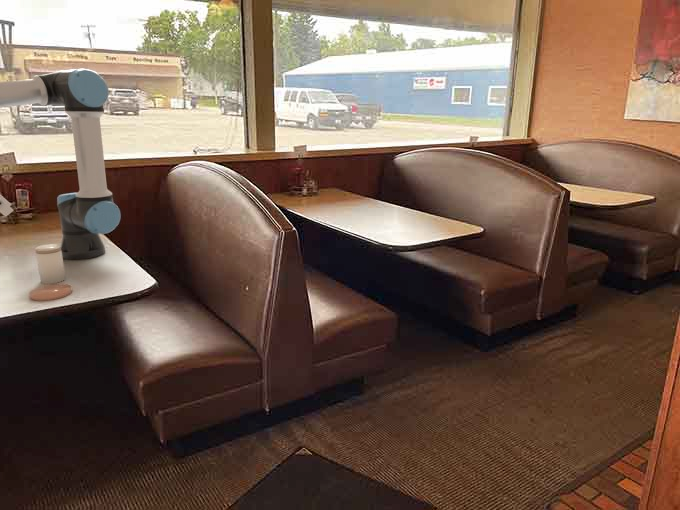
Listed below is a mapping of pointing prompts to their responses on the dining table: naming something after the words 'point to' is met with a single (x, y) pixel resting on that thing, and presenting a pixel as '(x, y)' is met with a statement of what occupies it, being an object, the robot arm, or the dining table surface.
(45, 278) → the cup
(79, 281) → the dining table surface
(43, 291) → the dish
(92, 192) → the robot arm
